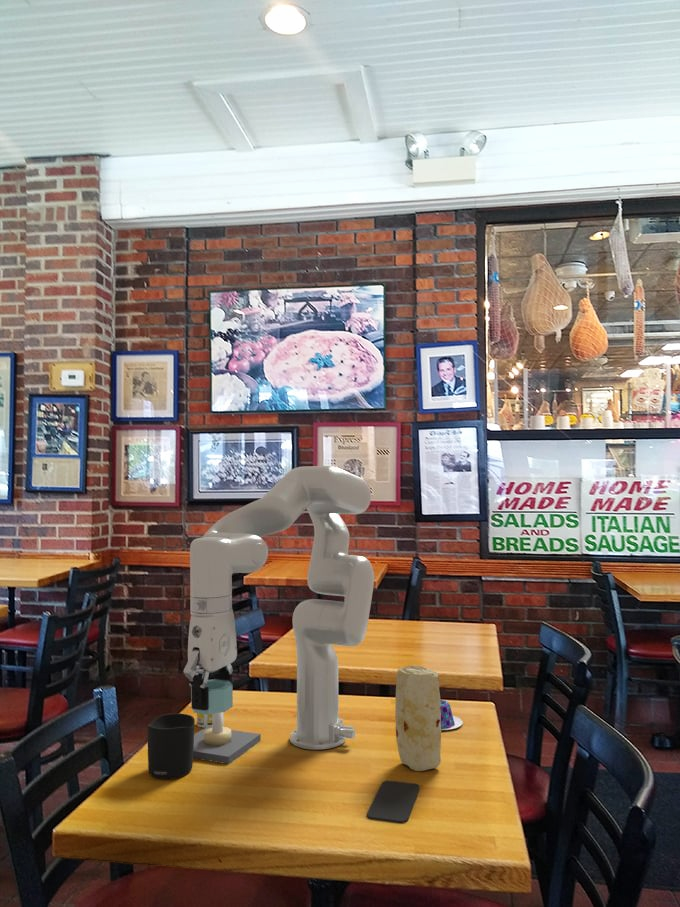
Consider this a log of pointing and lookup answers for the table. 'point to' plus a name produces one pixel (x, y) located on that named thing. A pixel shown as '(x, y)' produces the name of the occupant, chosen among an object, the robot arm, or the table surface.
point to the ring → (218, 696)
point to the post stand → (222, 742)
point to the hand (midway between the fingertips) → (211, 701)
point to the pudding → (448, 717)
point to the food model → (418, 717)
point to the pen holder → (170, 745)
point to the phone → (394, 801)
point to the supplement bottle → (204, 720)
